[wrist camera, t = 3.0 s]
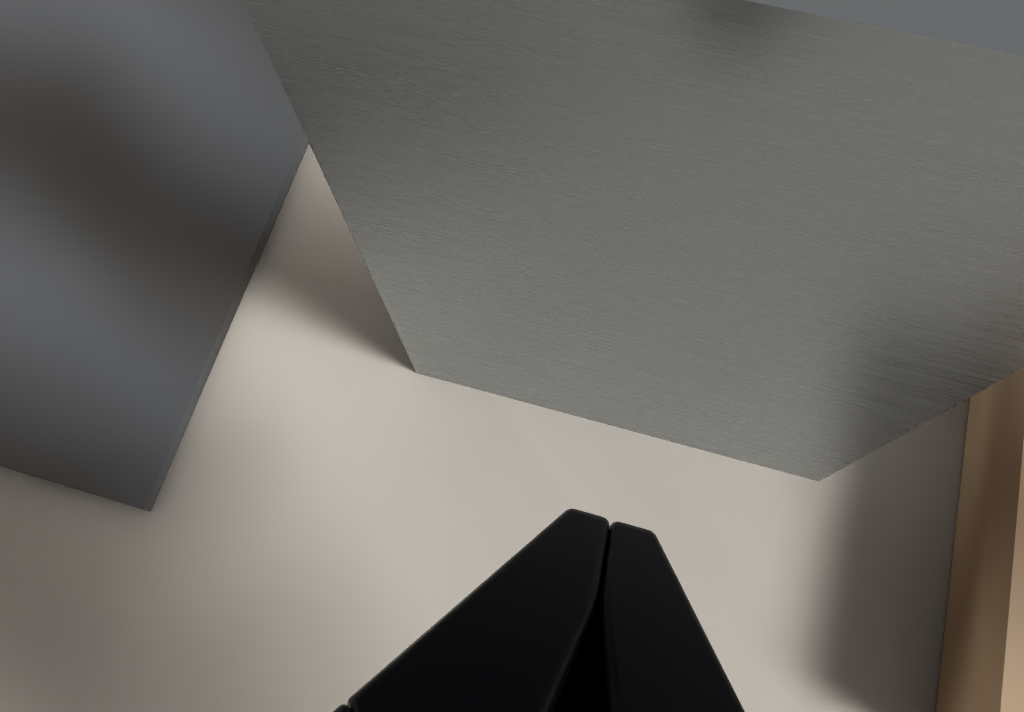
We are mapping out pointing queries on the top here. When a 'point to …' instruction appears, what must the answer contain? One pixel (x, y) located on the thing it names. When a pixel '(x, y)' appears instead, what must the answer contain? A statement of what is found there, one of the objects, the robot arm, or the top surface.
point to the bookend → (683, 204)
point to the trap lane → (229, 266)
